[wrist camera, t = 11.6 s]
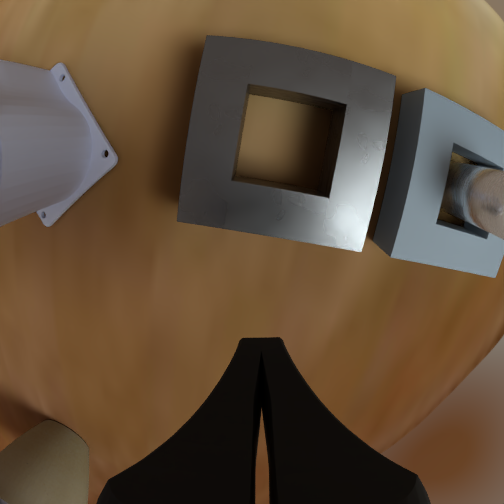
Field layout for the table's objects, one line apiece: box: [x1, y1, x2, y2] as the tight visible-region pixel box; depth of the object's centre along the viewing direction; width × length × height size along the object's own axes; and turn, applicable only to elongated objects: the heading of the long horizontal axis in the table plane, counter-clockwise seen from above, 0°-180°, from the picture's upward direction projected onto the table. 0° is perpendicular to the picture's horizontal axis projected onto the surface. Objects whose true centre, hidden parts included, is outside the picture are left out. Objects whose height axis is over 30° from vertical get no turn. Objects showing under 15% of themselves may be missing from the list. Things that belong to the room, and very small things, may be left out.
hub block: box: [373, 88, 504, 278], centre depth 16 cm, size 10×10×3 cm
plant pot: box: [0, 420, 89, 504], centre depth 21 cm, size 15×15×16 cm
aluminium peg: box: [440, 161, 504, 240], centre depth 14 cm, size 4×4×7 cm
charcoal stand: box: [177, 35, 396, 252], centre depth 15 cm, size 10×10×3 cm
